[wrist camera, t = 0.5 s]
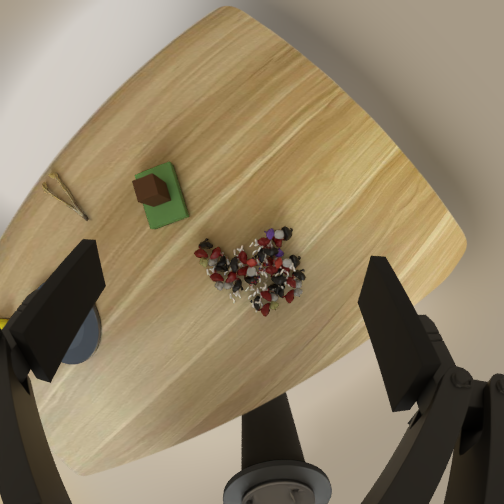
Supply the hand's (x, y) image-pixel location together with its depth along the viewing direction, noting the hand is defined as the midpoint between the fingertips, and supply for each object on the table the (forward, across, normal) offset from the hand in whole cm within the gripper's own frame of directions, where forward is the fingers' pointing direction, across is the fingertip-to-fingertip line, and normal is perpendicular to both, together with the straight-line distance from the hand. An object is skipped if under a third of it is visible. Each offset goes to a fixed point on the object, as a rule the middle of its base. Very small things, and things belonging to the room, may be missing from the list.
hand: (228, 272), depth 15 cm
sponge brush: (+34, +14, +10) cm, 38 cm away
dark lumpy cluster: (+30, -2, +19) cm, 36 cm away
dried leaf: (+32, +32, +9) cm, 46 cm away
